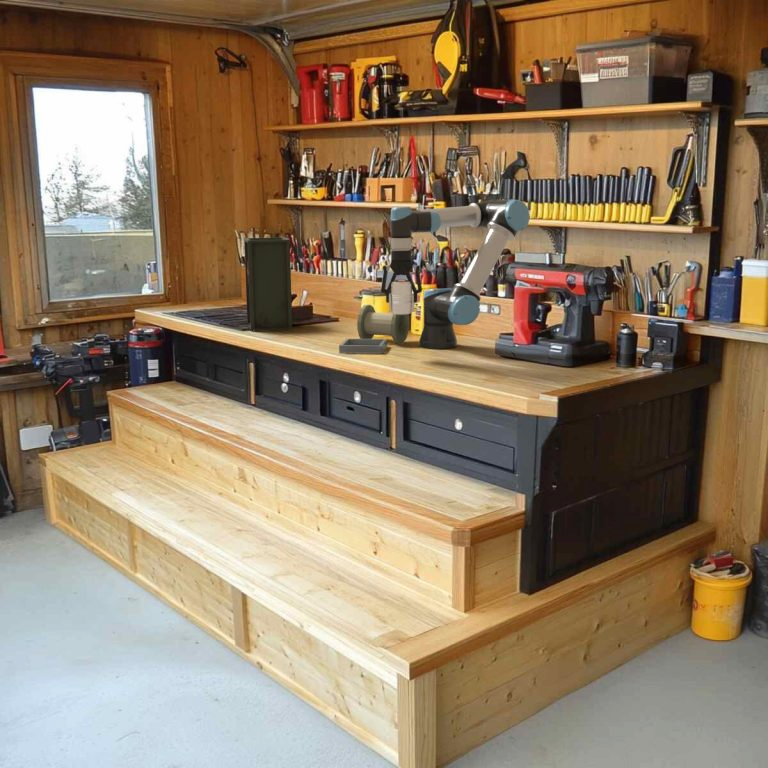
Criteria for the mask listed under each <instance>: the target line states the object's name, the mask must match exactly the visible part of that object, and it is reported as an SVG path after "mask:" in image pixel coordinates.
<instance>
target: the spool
mask: <svg viewBox="0 0 768 768" xmlns="http://www.w3.org/2000/svg"><path fill="white" fill-rule="evenodd" d="M356 326H357V328H356V329H357V334H358V336H359V339H374V335H375V336H386V337H387V336H388V337H391V339H392V340H393V342H394V343H395V344H397V345H401V344H404V343H405V341H406V340H407V338H408V335H409V331H410V315H409V314H393V313H392V312H389V313H387V312H376V310H375V307H374V306H373V305H371V304H364V305H362V307H361V308H360V310H359V313H358V314H357V324H356Z"/></svg>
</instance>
